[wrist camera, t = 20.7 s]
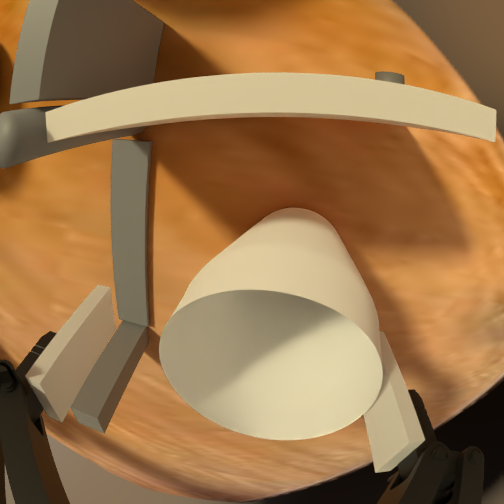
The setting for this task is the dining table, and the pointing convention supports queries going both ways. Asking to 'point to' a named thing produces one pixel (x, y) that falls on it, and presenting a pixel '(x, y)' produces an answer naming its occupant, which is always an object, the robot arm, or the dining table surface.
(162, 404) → the dining table surface
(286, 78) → the curved cream plank
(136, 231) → the grey u-shaped bar
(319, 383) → the cup
